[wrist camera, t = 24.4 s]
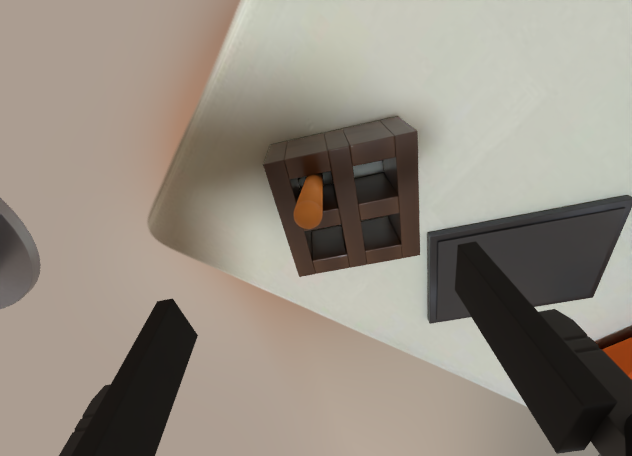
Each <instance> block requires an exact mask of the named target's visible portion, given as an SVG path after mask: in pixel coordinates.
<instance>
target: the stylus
mask: <svg viewBox="0 0 632 456" xmlns="http://www.w3.org/2000/svg"><path fill="white" fill-rule="evenodd" d="M293 215H294V220H295V222H296V223H297V225H298V226H300V227H301V228H304V229H312V228H315V227H316V226H318V225H319V224H320V222H321V220H322V216H323V173H319V174H314V175H309V176H307V177H306V179H305V182H304V185H303V187H302V190H301V193H300V196H299V198H298V201H297V204H296V206H295V209H294V214H293Z"/></svg>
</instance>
